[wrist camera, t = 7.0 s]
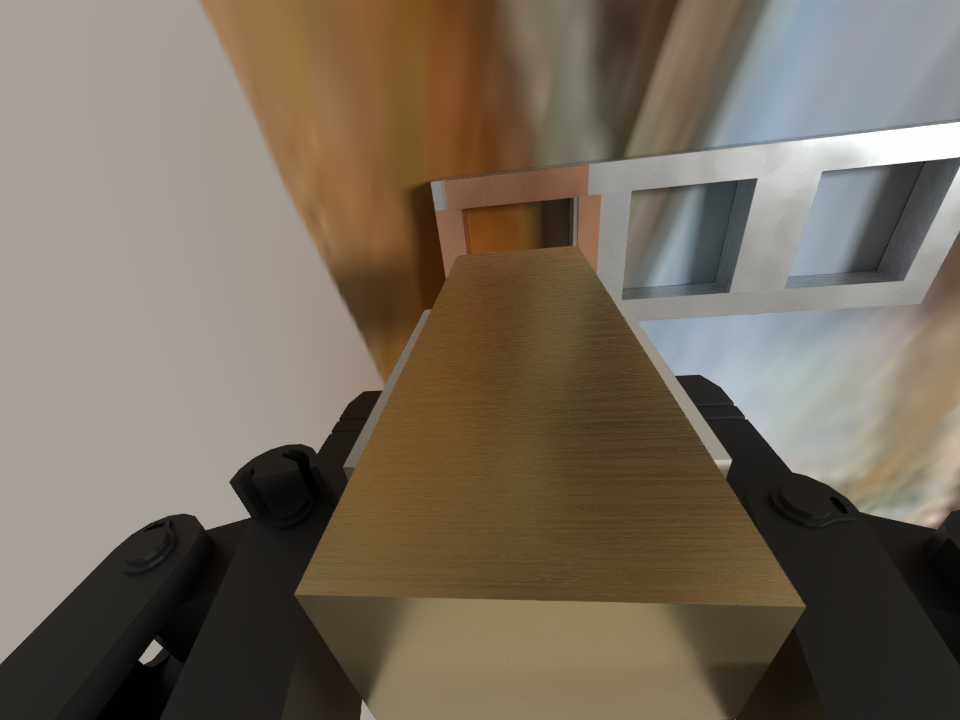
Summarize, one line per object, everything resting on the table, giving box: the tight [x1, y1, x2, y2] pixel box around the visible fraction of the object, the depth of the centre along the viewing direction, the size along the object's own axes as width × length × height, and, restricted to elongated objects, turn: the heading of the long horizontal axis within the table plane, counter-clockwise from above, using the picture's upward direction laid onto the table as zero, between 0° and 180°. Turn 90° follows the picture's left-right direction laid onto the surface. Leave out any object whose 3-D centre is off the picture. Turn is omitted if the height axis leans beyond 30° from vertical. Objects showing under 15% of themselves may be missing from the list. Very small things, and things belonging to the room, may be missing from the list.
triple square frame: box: [431, 119, 960, 321], centre depth 19 cm, size 8×24×2 cm, turn 96°
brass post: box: [294, 245, 806, 720], centre depth 9 cm, size 4×4×12 cm
